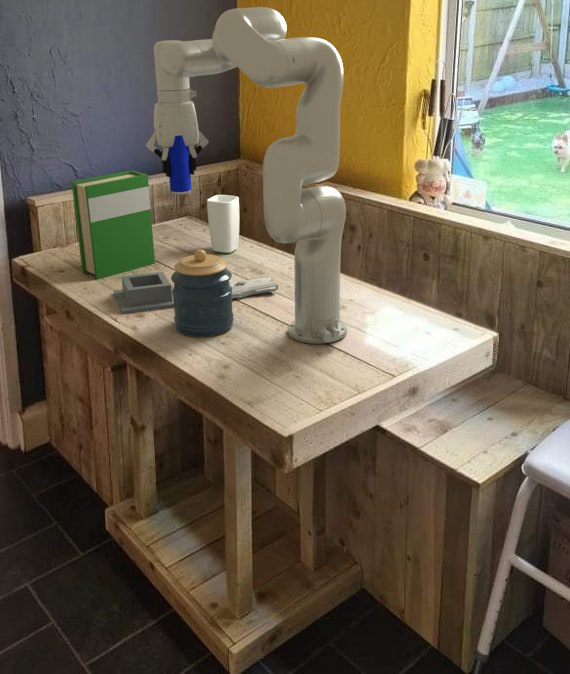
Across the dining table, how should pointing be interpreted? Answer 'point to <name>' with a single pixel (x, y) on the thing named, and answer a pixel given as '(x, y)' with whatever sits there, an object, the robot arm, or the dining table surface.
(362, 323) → the dining table surface
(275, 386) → the dining table surface
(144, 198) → the hardback book
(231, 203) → the cup
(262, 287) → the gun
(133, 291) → the holder
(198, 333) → the canister
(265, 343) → the dining table surface
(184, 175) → the beverage can
